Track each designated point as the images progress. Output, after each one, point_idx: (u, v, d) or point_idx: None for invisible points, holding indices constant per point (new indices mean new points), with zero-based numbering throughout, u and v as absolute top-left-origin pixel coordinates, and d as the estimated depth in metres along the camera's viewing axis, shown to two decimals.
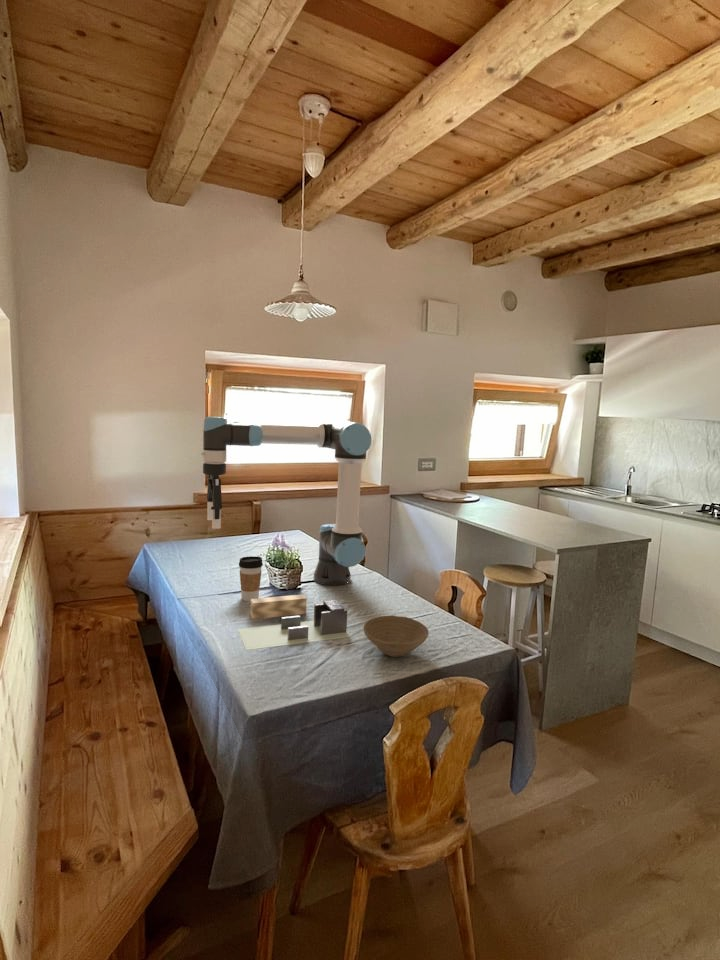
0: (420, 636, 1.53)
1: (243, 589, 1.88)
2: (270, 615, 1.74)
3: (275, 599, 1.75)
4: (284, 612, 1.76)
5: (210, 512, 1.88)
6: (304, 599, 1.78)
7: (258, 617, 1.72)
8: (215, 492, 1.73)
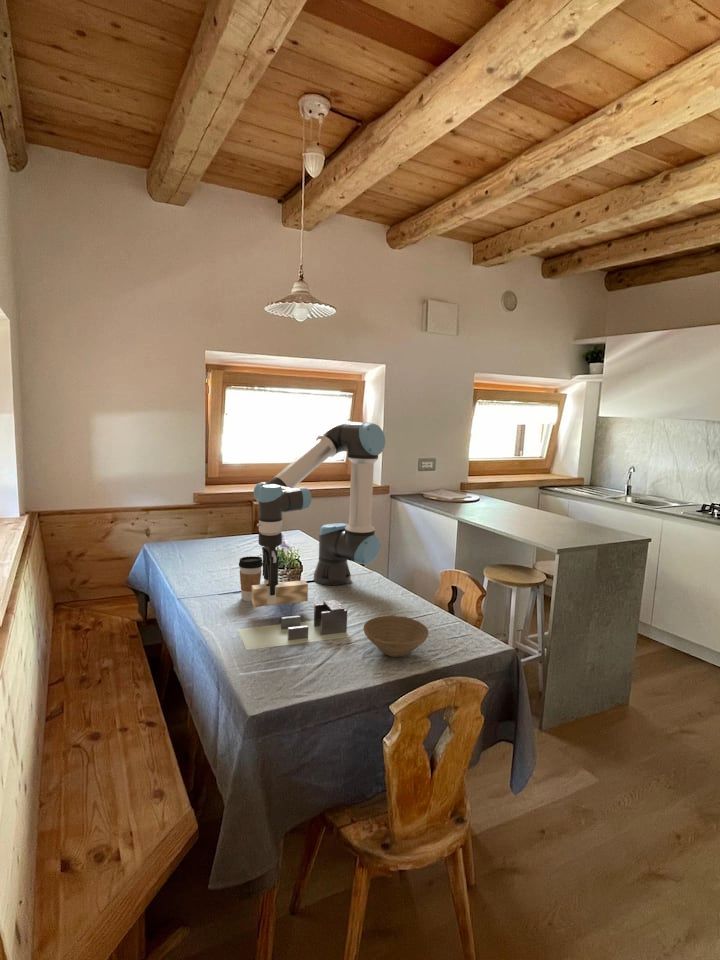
0: (420, 636, 1.53)
1: (243, 589, 1.88)
2: None
3: (276, 586, 1.75)
4: (285, 598, 1.75)
5: None
6: (305, 585, 1.77)
7: (259, 603, 1.72)
8: (272, 570, 1.68)
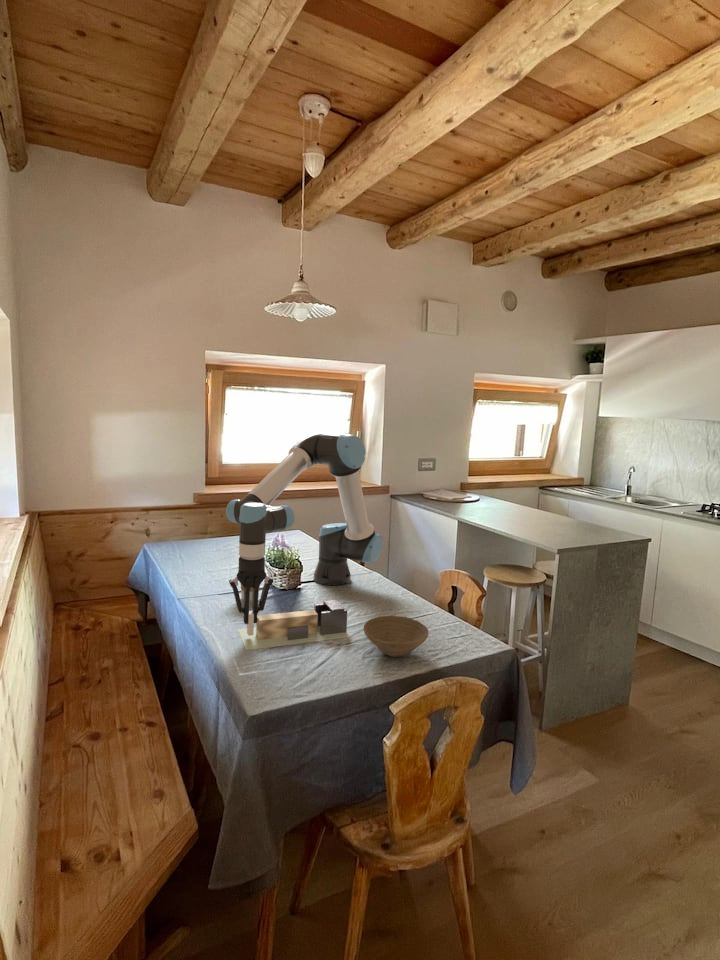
0: (420, 636, 1.53)
1: (243, 589, 1.88)
2: (278, 633, 1.59)
3: (283, 616, 1.60)
4: None
5: None
6: (315, 615, 1.62)
7: (265, 636, 1.57)
8: (234, 594, 1.55)
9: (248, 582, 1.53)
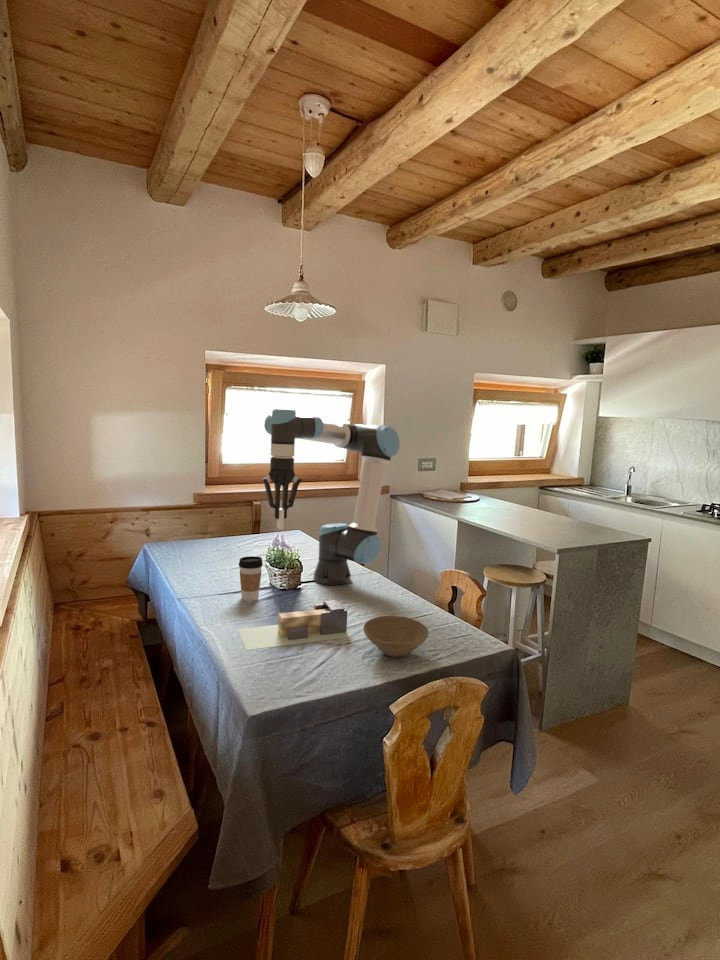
0: (420, 636, 1.53)
1: (243, 589, 1.88)
2: None
3: (304, 614, 1.62)
4: (314, 628, 1.63)
5: None
6: None
7: (287, 633, 1.60)
8: (266, 491, 1.71)
9: (279, 479, 1.70)
